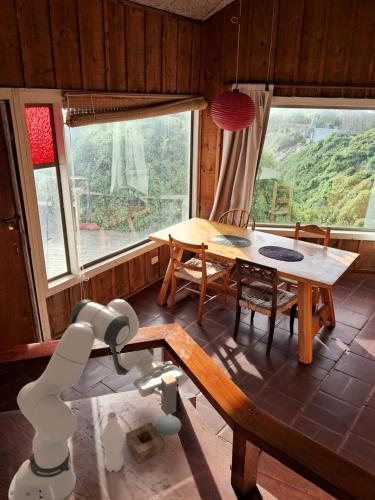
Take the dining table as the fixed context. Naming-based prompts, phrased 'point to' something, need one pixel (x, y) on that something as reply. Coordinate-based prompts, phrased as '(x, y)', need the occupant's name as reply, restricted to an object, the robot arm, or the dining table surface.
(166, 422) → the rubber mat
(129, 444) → the block
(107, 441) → the water bottle
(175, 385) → the plug peg
